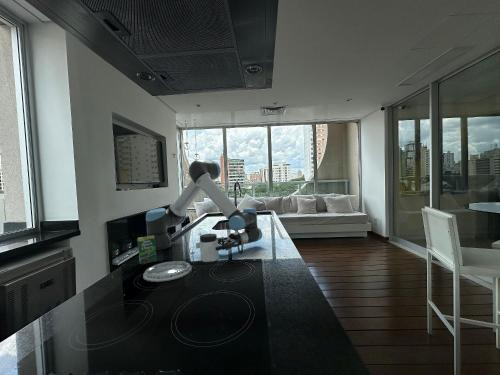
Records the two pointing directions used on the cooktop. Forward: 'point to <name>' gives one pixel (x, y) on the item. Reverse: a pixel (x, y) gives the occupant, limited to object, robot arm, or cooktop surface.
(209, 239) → the jar
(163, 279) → the rosette plate
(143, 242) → the coffee box
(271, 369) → the cooktop surface
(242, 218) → the robot arm
